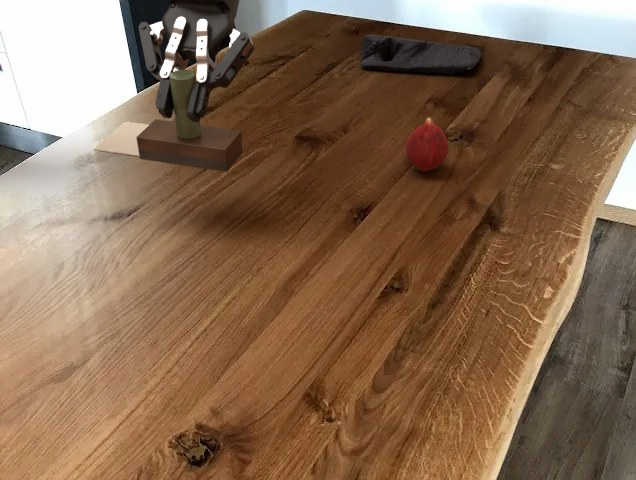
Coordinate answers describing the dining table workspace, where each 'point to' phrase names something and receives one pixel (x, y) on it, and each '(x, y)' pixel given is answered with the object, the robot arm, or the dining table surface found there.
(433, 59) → the dark slate chunk
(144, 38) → the robot arm
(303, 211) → the dining table surface
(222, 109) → the dining table surface
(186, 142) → the stamp with green handle
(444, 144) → the onion
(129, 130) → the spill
